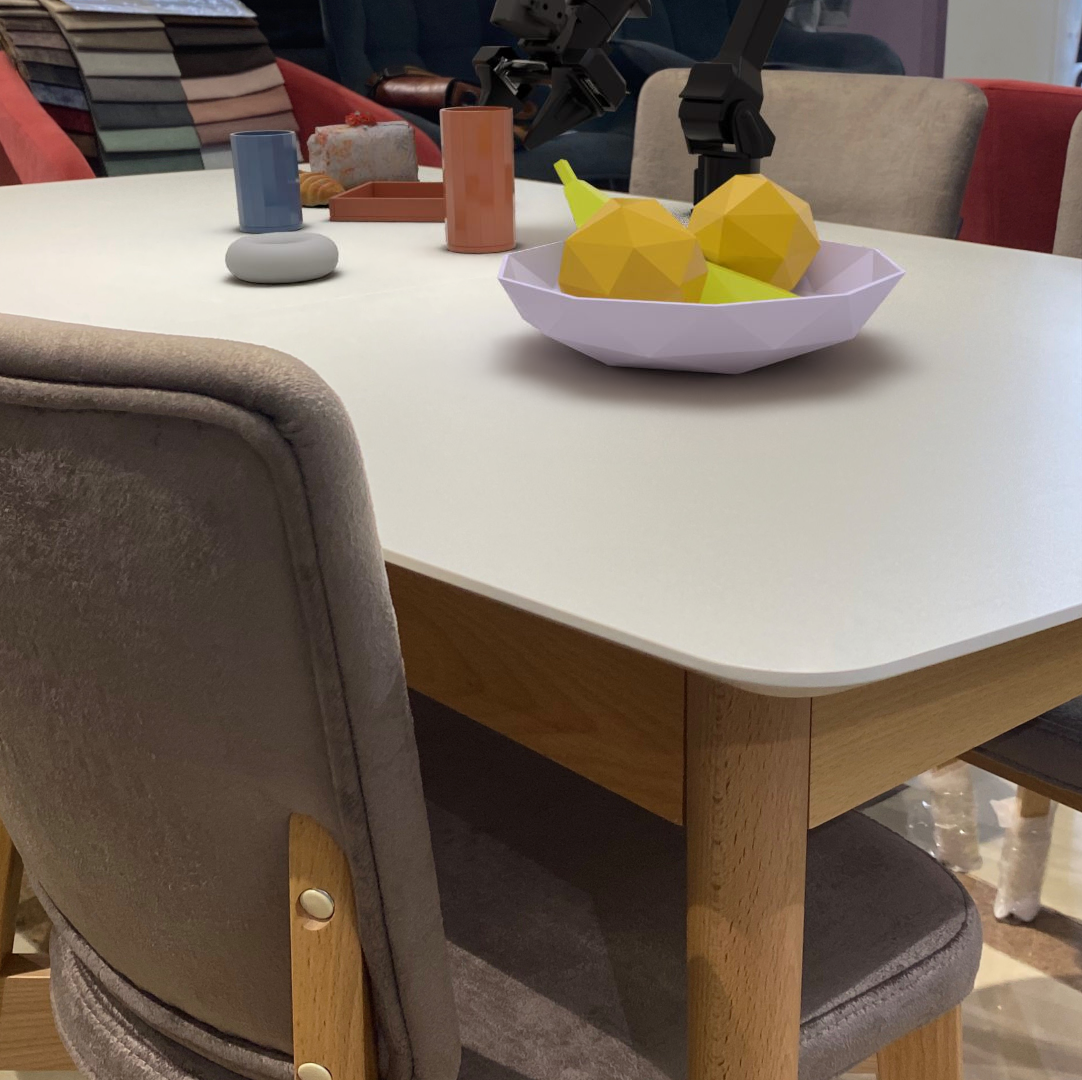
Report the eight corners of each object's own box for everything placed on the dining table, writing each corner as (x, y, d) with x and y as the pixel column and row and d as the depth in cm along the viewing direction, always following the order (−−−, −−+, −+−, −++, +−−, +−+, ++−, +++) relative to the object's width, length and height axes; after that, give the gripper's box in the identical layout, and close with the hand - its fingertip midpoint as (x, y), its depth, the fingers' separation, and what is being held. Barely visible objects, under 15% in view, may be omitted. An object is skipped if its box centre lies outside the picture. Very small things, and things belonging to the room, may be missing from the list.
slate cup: (315, 225, 143) (308, 131, 140) (274, 235, 138) (265, 136, 134) (269, 222, 147) (260, 129, 143) (226, 231, 141) (216, 135, 137)
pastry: (361, 203, 159) (358, 171, 158) (315, 210, 155) (312, 177, 153) (316, 197, 165) (313, 166, 164) (271, 203, 161) (268, 172, 160)
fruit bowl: (977, 377, 80) (998, 188, 76) (558, 421, 73) (555, 217, 69) (775, 292, 105) (783, 146, 101) (448, 319, 98) (441, 164, 94)
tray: (506, 203, 157) (506, 182, 156) (478, 222, 143) (477, 199, 143) (370, 202, 160) (369, 181, 159) (329, 220, 147) (328, 198, 146)
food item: (320, 196, 166) (313, 116, 163) (309, 189, 173) (302, 112, 170) (423, 189, 171) (419, 111, 167) (408, 183, 178) (403, 107, 174)
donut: (307, 291, 110) (359, 267, 119) (303, 250, 109) (356, 229, 117) (205, 285, 113) (263, 263, 122) (200, 245, 112) (259, 225, 121)
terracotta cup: (528, 244, 129) (525, 107, 124) (491, 255, 124) (486, 112, 119) (471, 240, 132) (466, 105, 127) (433, 250, 127) (426, 110, 122)
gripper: (484, -40, 129) (395, 81, 128) (602, -49, 115) (503, 87, 114) (548, 42, 137) (465, 159, 135) (667, 43, 123) (575, 173, 121)
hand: (498, 144), depth 126 cm, fingers open, 9 cm apart
